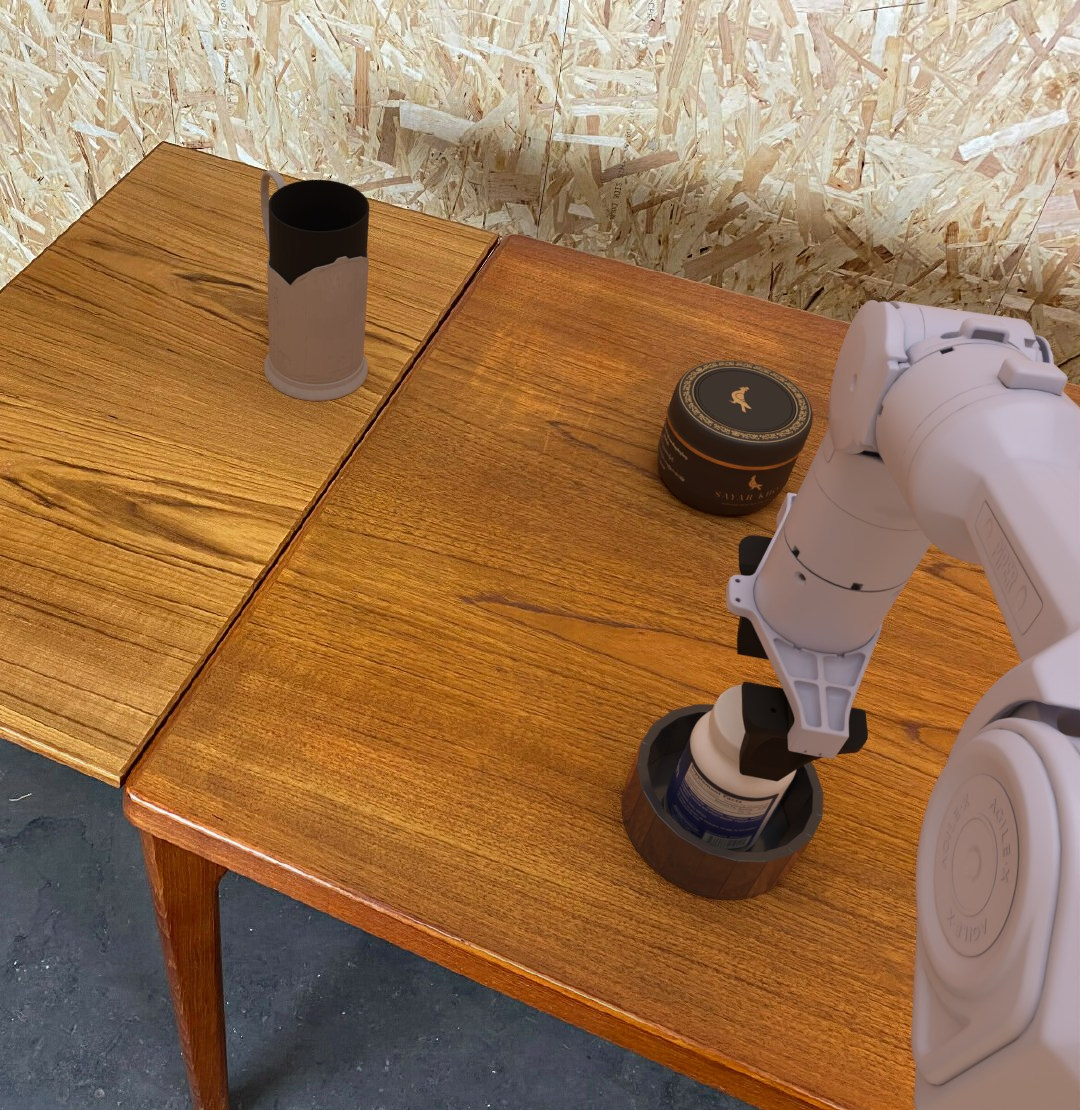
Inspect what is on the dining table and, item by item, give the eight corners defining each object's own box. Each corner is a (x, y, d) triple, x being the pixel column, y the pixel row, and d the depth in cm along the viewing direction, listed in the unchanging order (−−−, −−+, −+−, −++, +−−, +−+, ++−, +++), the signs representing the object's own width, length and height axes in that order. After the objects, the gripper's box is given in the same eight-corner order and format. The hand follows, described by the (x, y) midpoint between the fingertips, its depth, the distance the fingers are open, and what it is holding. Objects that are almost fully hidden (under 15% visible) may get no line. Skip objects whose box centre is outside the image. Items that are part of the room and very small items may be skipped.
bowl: (832, 871, 65) (861, 832, 62) (675, 922, 63) (696, 884, 60) (737, 729, 72) (758, 686, 68) (591, 769, 69) (606, 727, 66)
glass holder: (291, 412, 91) (291, 248, 80) (220, 317, 100) (211, 157, 89) (387, 383, 94) (399, 220, 83) (310, 293, 103) (312, 134, 92)
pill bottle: (701, 757, 70) (749, 657, 62) (779, 821, 67) (839, 725, 60) (641, 809, 67) (683, 711, 60) (719, 879, 64) (774, 785, 57)
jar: (680, 530, 84) (708, 452, 78) (630, 441, 90) (653, 363, 85) (805, 514, 85) (841, 437, 80) (747, 427, 92) (777, 350, 86)
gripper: (753, 419, 56) (683, 593, 66) (761, 656, 46) (678, 815, 57) (903, 442, 55) (808, 614, 65) (942, 688, 45) (825, 844, 56)
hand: (757, 710), depth 61 cm, fingers open, 7 cm apart
